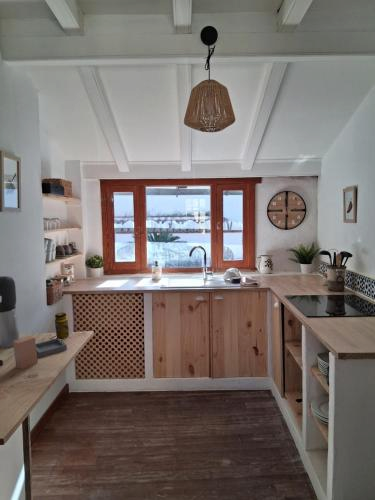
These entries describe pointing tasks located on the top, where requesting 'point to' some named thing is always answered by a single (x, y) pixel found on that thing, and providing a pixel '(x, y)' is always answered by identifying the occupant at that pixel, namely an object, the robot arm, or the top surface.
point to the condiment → (61, 326)
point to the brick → (25, 352)
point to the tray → (50, 347)
